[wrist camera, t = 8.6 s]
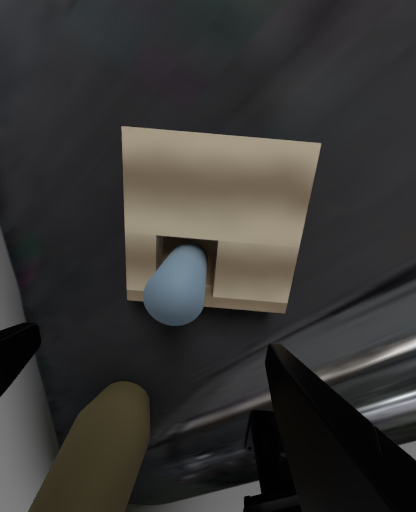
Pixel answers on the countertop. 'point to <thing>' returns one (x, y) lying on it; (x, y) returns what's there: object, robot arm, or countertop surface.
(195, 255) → the peg
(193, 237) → the board
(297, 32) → the countertop surface
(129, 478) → the squeeze bottle
